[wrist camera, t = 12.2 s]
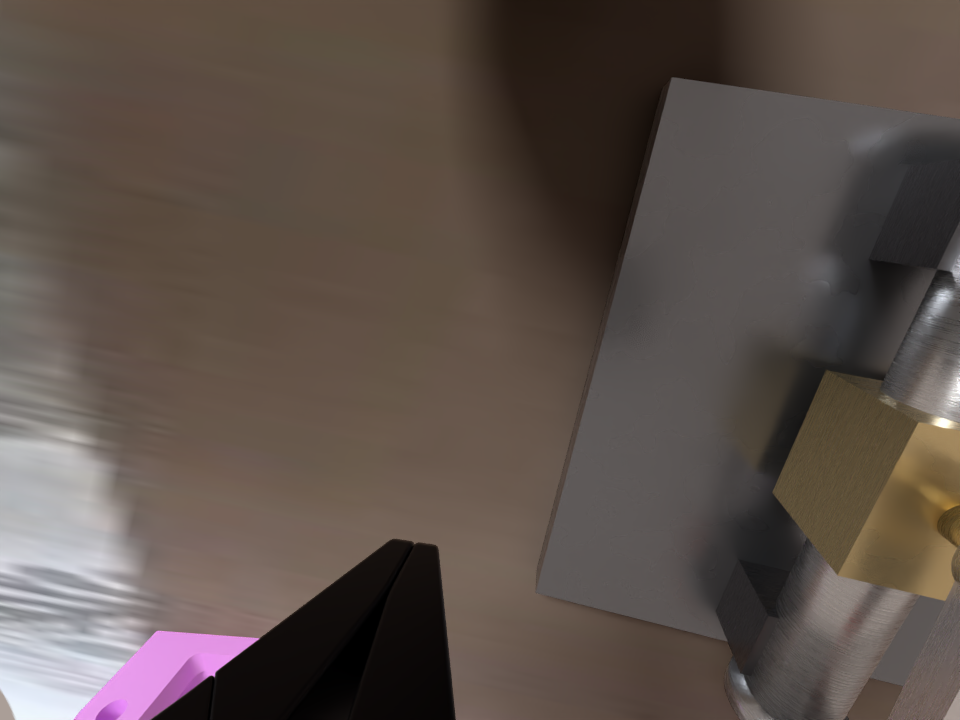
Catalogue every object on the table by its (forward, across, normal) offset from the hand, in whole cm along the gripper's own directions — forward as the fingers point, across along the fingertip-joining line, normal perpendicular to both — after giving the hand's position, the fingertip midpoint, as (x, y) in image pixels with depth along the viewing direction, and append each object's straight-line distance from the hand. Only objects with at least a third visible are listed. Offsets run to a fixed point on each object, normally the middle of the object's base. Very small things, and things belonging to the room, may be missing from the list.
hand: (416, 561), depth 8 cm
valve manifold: (+13, -14, +2) cm, 19 cm away
